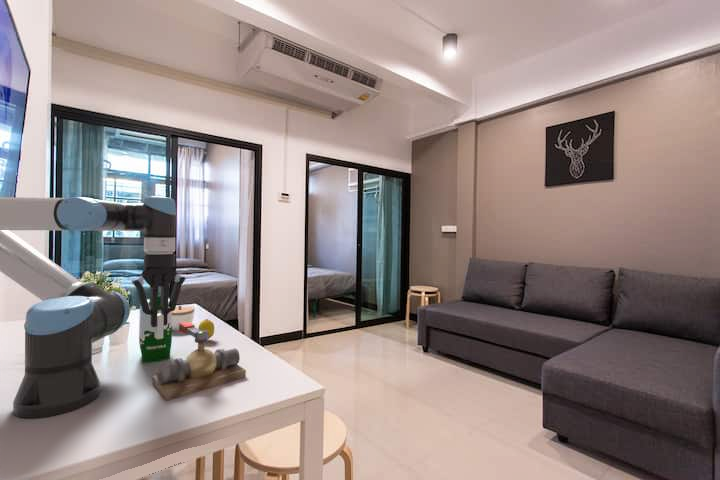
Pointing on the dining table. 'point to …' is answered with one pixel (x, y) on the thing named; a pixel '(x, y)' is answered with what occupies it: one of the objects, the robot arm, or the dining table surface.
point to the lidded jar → (181, 316)
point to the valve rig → (198, 372)
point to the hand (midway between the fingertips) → (158, 337)
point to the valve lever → (194, 332)
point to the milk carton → (148, 343)
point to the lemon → (207, 327)
